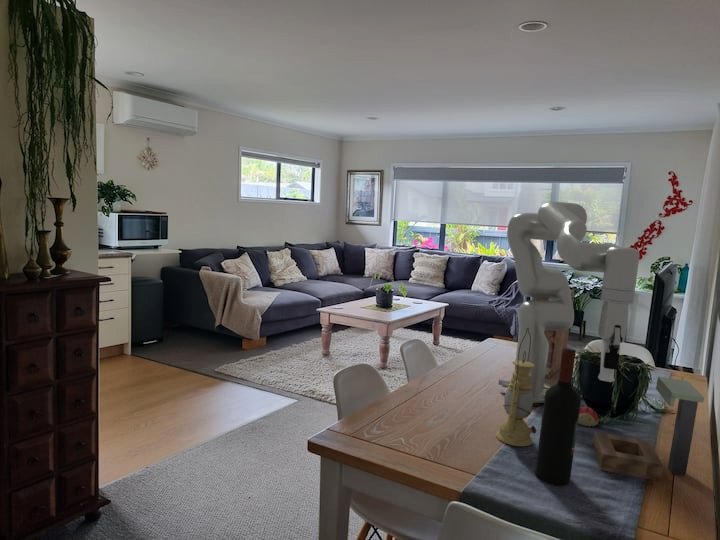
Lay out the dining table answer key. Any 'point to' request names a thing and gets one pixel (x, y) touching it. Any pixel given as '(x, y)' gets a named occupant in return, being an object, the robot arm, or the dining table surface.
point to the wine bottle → (559, 426)
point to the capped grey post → (680, 419)
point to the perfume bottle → (604, 372)
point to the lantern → (518, 405)
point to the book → (555, 345)
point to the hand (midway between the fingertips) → (608, 365)
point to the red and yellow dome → (587, 417)
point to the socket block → (627, 456)
